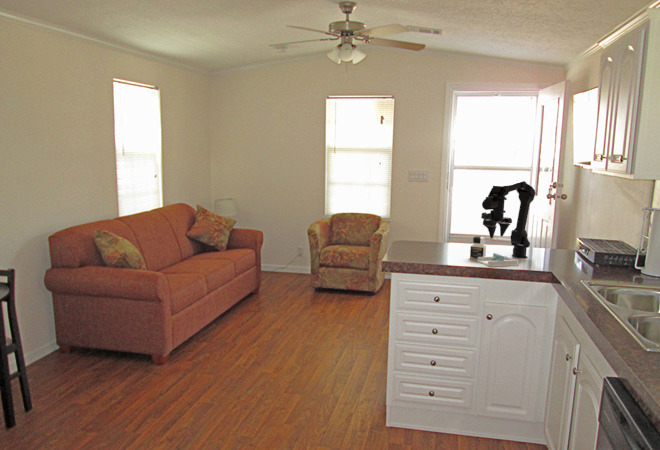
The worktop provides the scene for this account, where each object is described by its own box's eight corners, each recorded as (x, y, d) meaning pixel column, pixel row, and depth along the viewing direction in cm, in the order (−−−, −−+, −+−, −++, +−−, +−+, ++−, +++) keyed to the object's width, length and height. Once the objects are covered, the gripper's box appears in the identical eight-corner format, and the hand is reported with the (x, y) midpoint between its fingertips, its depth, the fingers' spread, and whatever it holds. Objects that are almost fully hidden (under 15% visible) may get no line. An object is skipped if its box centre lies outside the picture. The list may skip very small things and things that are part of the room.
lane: (504, 260, 278) (505, 255, 278) (517, 265, 267) (518, 260, 266) (477, 261, 274) (477, 256, 274) (489, 266, 262) (489, 261, 262)
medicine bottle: (469, 258, 281) (471, 237, 280) (472, 256, 288) (473, 235, 286) (482, 259, 278) (484, 238, 276) (485, 257, 284) (486, 236, 283)
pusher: (494, 259, 274) (495, 252, 274) (503, 262, 266) (504, 256, 266) (481, 259, 272) (481, 253, 272) (489, 263, 264) (490, 256, 264)
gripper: (495, 205, 283) (493, 233, 285) (475, 208, 272) (473, 236, 274) (513, 207, 274) (511, 236, 277) (493, 210, 263) (491, 240, 265)
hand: (496, 237), depth 274 cm, fingers open, 9 cm apart
